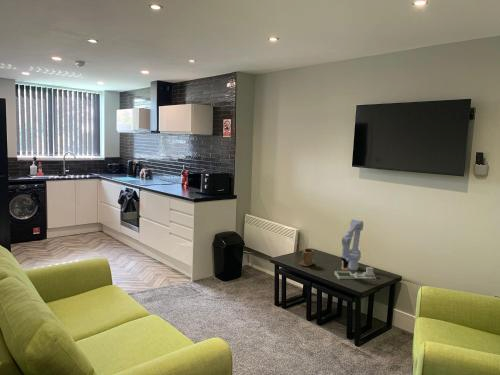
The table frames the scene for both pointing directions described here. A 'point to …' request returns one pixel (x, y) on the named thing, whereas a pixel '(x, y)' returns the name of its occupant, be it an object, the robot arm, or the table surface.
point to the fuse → (369, 271)
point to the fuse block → (363, 275)
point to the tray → (344, 276)
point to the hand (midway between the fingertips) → (344, 266)
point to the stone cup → (307, 257)
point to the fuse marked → (343, 266)
